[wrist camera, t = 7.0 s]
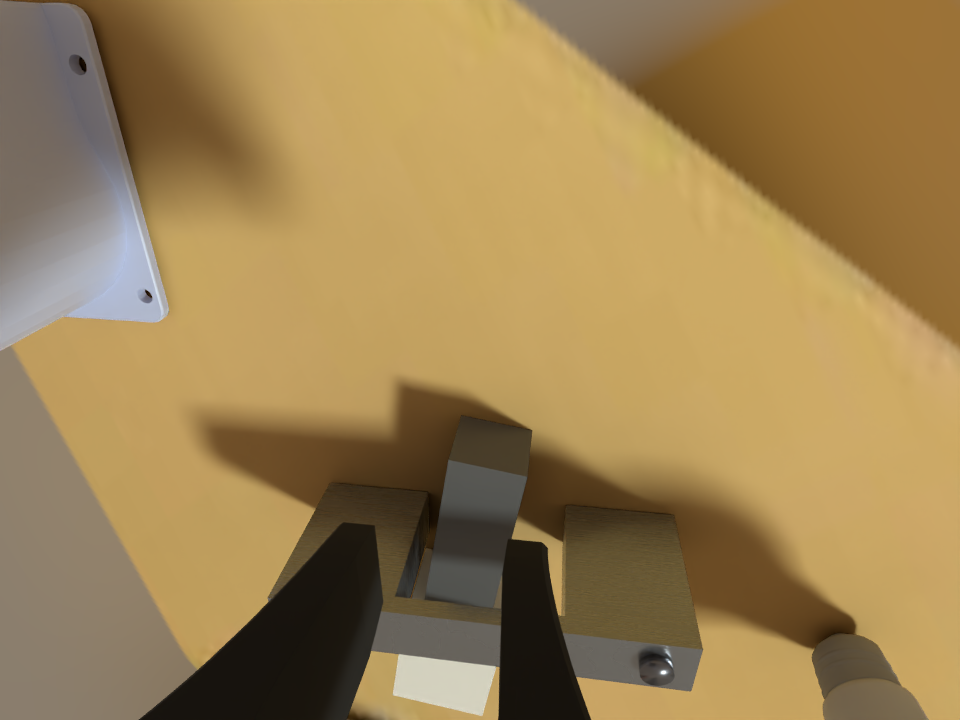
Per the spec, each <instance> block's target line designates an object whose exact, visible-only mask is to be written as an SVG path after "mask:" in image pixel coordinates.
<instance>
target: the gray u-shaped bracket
mask: <svg viewBox="0 0 960 720" xmlns="http://www.w3.org/2000/svg"><path fill="white" fill-rule="evenodd" d="M343 522H346V523H356V524H366V525H375V531H376V540H377V549H378V558H379V567H380V576H381V585H382V593H383V605H382V609H381V614H380V618H379V622H378V626H377V630H376V634H375V638H374V641H373V645H372V649H371V651H378V652H386V653H393V654H401V655H409V656H417V657H425V658H433V659H440V660H448V661H456V662H464V663H472V664H480V665H487V666H495V667H500V636H501V609H498V608H490V607H481V606H472V605H464V604H455V603H446V602H438V601H429V600H421V599H412V598H410V597H411V593H412V590H413V587H414V583H415V580H416V576H417V573H418V569H419V566H420V562H421V559H422V555H423V552H424V548H425V545H426V541H427V538H428V534H429V531H430V522H429V503H428V492H423V491H412V490H402V489H391V488H380V487H370V486H359V485H348V484H338V483H330V484H329V486H328V488H327V490H326V491H325V493H324V495H323V497H322V499H321V501H320V502H319V504H318V506H317V508H316V510H315V512H314V514H313V515H312V517H311V519H310V521H309V523H308V525H307V526H306V528H305V530H304V532H303V534H302V536H301V537H300V539H299V541H298V543H297V545H296V547H295V549H294V550H293V552H292V554H291V556H290V558H289V560H288V561H287V563H286V565H285V567H284V569H283V571H282V572H281V574H280V576H279V578H278V580H277V582H276V584H275V585H274V587H273V589H272V591H271V593H270V595H269V596H268V601H270V600H271V599H272V598H273V597H274V596H275V595H276V594H277V593H278V592H279V591H280V590H281V589H282V588H283V586H284V585H285V584H286V583H287V582H288V581H289V580H290V579H291V578H292V577H293V576H294V575H295V574H296V573H297V571H298V570H299V569H300V568H301V567H302V566H303V565H304V564H305V563H306V562H307V561H308V559H309V558H310V557H311V556H312V555H313V554H314V553H315V552H316V551H317V549H318V548H319V547H320V546H321V545H322V544H323V543H324V541H325V540H326V539H327V538H328V537H329V536H330V535H331V534H332V532H333V531H334V530H335V529H336V528H337V527H338V526H339V525H340V524H342V523H343ZM558 617H559V621H560V625H561V629H562V632H563V636H564V639H565V642H566V646H567V649H568V653H569V656H570V660H571V663H572V666H573V669H574V672H575V675H576V677H582V678H589V679H597V680H605V681H613V682H621V683H629V684H636V685H644V686H652V687H660V688H668V689H676V690H684V691H691V690H692V687H693V683H694V679H695V676H696V672H697V669H698V665H699V662H700V658H701V655H702V651H703V648H702V643H701V639H700V634H699V629H698V625H697V620H696V615H695V611H694V606H693V601H692V597H691V592H690V587H689V583H688V578H687V574H686V569H685V564H684V560H683V555H682V550H681V546H680V541H679V536H678V532H677V527H676V523H675V518H674V515H668V514H658V513H647V512H636V511H626V510H615V509H604V508H594V507H583V506H572V505H566V513H565V524H564V534H563V554H562V613H561V616H559V615H558Z"/></svg>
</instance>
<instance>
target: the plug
mask: <svg viewBox="0 0 960 720" xmlns="http://www.w3.org/2000/svg"><path fill="white" fill-rule="evenodd" d="M531 437H532V430H528V429H523V428H519V427H514V426H509V425H505V424H500V423H495V422H491V421H486V420H481V419H476V418H472V417H467V416H462V415H461V419H460V422H459V426H458V429H457V432H456V436H455V439H454V443H453V446H452V450H451V453H450V456H449V460H448V466H447V472H446V477H445V483H444V489H443V495H442V501H441V507H440V513H439V518H438V524H437V530H436V536H435V542H434V548H433V549H428V548H426V550H425V553H424V557H423V560H422V564H421V567H420V571H419V574H418V578H417V581H416V585H415V588H414V592H413V595H412V599H421V600H429V601H438V602H446V603H455V604H464V605H472V606H481V607H490V608H498V609H501V600H502V572H503V565H504V559H505V552H506V547H507V541H508V539H511V538H512V534H513V531H514V527H515V523H516V519H517V515H518V511H519V508H520V504H521V500H522V496H523V492H524V488H525V484H526V481H527V477H528V467H529V457H530V447H531ZM495 669H496V667H495V666H487V665H480V664H472V663H464V662H456V661H448V660H440V659H433V658H425V657H417V656H409V655H401V654H399V657H398V664H397V670H396V677H395V684H394V691H393V695H395V696H399V697H403V698H408V699H412V700H416V701H420V702H425V703H429V704H433V705H438V706H442V707H446V708H450V709H455V710H459V711H463V712H468V713H472V714H476V715H480V716H482V715H483V711H484V708H485V704H486V701H487V697H488V694H489V690H490V687H491V683H492V680H493V676H494V673H495Z"/></svg>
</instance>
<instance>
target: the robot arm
mask: <svg viewBox="0 0 960 720" xmlns="http://www.w3.org/2000/svg"><path fill="white" fill-rule="evenodd" d="M80 57H81V58H83V59H84V61H85V63H86V66H87V71H86V73H85V72H84V71H83V70H82V69H81V67H80V65H79V58H80ZM145 290H147V291H149V292H150V293H151V295H152V298H150V297H149V296H148V295H147V294H146V292H145ZM168 312H169V307H168V303H167V299H166V295H165V292H164V288H163V284H162V281H161V277H160V273H159V270H158V266H157V262H156V259H155V255H154V251H153V248H152V244H151V240H150V237H149V233H148V229H147V226H146V222H145V218H144V215H143V211H142V207H141V204H140V200H139V196H138V193H137V189H136V185H135V182H134V178H133V174H132V171H131V167H130V163H129V160H128V156H127V152H126V149H125V145H124V141H123V138H122V134H121V130H120V127H119V123H118V119H117V116H116V112H115V108H114V105H113V101H112V97H111V94H110V90H109V86H108V83H107V79H106V75H105V72H104V68H103V64H102V61H101V57H100V53H99V50H98V46H97V42H96V39H95V35H94V31H93V28H92V24H91V22H90V19H89V17H88V16H87V14H86V13H85V12H84V11H83V9H81V8H80V7H78V6H77V5H74V4H70V3H34V2H19V1H5V0H0V351H1V350H3V349H5V348H6V347H9V346H10V345H12V344H14V343H16V342H18V341H20V340H21V339H23V338H25V337H27V336H29V335H30V334H32V333H34V332H36V331H38V330H40V329H41V328H43V327H45V326H47V325H49V324H51V323H52V322H54V321H56V320H58V319H60V318H62V317H76V318H91V319H107V320H123V321H139V322H159V321H160V320H162V319H163V318H165V317H166V316H167V315H168ZM382 605H383V593H382V585H381V576H380V567H379V558H378V549H377V540H376V531H375V525H366V524H356V523H346V522H343V523H342V524H340V525H339V526H338V527H337V528H336V529H335V530H334V531H333V532H332V534H331V535H330V536H329V537H328V538H327V539H326V540H325V541H324V543H323V544H322V545H321V546H320V547H319V548H318V549H317V551H316V552H315V553H314V554H313V555H312V556H311V557H310V558H309V559H308V561H307V562H306V563H305V564H304V565H303V566H302V567H301V568H300V569H299V570H298V571H297V573H296V574H295V575H294V576H293V577H292V578H291V579H290V580H289V581H288V582H287V583H286V584H285V585H284V586H283V588H282V589H281V590H280V591H279V592H278V593H277V594H276V595H275V596H274V597H273V598H272V599H271V600H270V601H269V602H268V603H267V604H266V605H265V606H264V607H263V608H262V609H261V610H260V611H259V612H258V613H257V614H256V615H255V616H254V617H253V618H252V619H251V620H250V621H249V622H248V623H247V624H246V625H245V626H244V627H243V628H242V629H241V630H240V631H239V632H238V633H237V634H236V635H235V636H234V637H233V638H232V639H231V640H229V641H228V642H227V643H226V644H225V645H224V646H223V647H222V648H221V649H220V650H219V651H218V652H217V653H216V654H215V655H214V656H213V657H212V658H211V659H209V660H208V661H207V662H206V663H205V664H204V665H203V666H202V667H201V668H199V669H198V670H197V671H196V672H195V673H194V674H193V675H192V676H190V677H189V678H188V679H187V680H186V681H185V682H184V683H182V684H181V685H180V686H179V687H178V688H177V689H176V690H174V691H173V692H172V693H171V694H169V695H168V696H167V697H166V698H165V699H163V700H162V701H161V702H160V703H159V704H157V705H156V706H155V707H154V708H153V709H152V710H150V711H149V712H148V713H146V715H144V716H143V717H142V718H140V719H139V720H346V719H347V717H348V714H349V711H350V709H351V706H352V703H353V701H354V698H355V695H356V693H357V690H358V687H359V684H360V682H361V679H362V676H363V674H364V671H365V668H366V665H367V662H368V660H369V657H370V653H371V649H372V645H373V641H374V638H375V634H376V630H377V626H378V622H379V618H380V614H381V609H382ZM498 720H591V718H590V716H589V713H588V710H587V707H586V704H585V701H584V699H583V696H582V693H581V690H580V687H579V685H578V681H577V678H576V675H575V672H574V669H573V666H572V663H571V660H570V656H569V653H568V649H567V646H566V642H565V639H564V636H563V632H562V629H561V625H560V621H559V617H558V613H557V609H556V604H555V600H554V595H553V590H552V585H551V579H550V573H549V564H548V548H547V547H546V546H545V545H544V544H543V543H542V542H533V541H523V540H513V539H508V541H507V547H506V552H505V559H504V565H503V572H502V600H501V636H500V673H499V717H498Z"/></svg>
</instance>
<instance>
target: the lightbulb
mask: <svg viewBox="0 0 960 720" xmlns="http://www.w3.org/2000/svg"><path fill="white" fill-rule="evenodd" d="M812 662H813V665H814V668H815V673H816V676H817V678H818V682H819V685H820V688H821V690H822V695H823V697H824V699H825V700H824V703H823V716H824V719H825V720H928V718H927V716H926V715H925V713H924V711H923V710H922V708H921V706H920V705H919V703H918V701H917V700H916V698H915V697H914V696H913V695H912V694H911V693H910V692H909V691H908V690H907V689H905V688H904V687H902V686H901V684H900V682H899V681H898V678H897V676H896V674H895V673H894V672H893V670H892V668H891V665H890V664H889V663H888V661H887V660H886V658H885V657H884V655H883V653H882V651H881V650H880V648H879V647H878V645H877V644H875V643H874V642H873V641H871V640H869V639H867V638H865V637H862V636H859V635H854V634H844V633H837V634H833V635H831V636H829V637H828V638H827V639H825V640H823V641H822V642H820V643H819V644H818V645H817V646H816V648H815V649H814V651H813V654H812Z"/></svg>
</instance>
